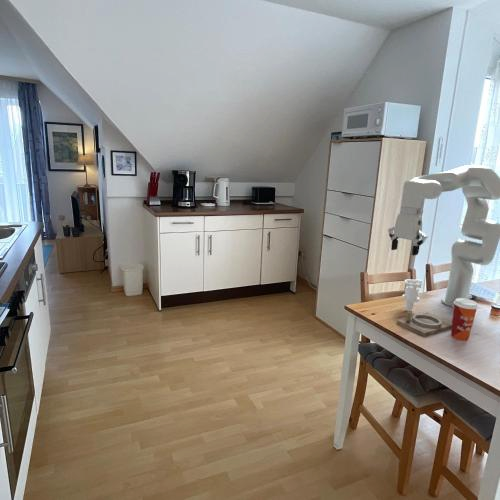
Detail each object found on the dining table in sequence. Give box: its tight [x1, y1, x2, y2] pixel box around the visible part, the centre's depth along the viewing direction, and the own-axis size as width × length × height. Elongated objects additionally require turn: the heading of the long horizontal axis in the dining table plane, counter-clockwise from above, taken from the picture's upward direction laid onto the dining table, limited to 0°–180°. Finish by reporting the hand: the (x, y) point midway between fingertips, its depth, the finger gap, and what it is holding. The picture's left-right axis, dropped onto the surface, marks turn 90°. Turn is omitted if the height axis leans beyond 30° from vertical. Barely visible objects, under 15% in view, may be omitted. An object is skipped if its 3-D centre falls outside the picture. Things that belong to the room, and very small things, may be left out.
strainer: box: [402, 278, 423, 313], centre depth 165 cm, size 7×7×15 cm
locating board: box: [396, 311, 452, 337], centre depth 151 cm, size 20×13×6 cm, turn 118°
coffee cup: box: [450, 298, 479, 342], centre depth 141 cm, size 8×8×15 cm
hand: (404, 252), depth 151 cm, fingers open, 9 cm apart
